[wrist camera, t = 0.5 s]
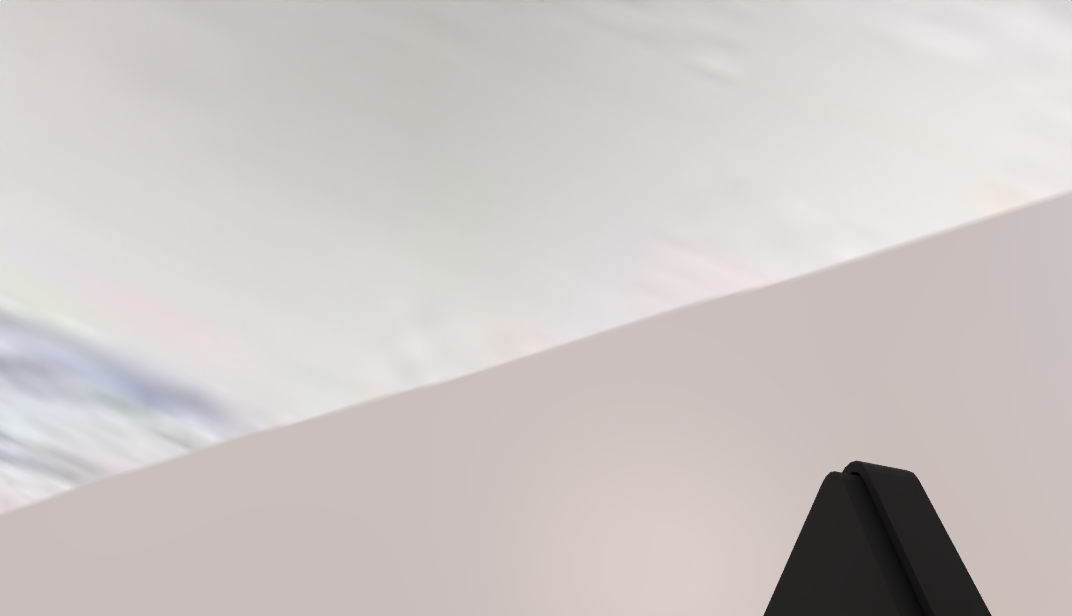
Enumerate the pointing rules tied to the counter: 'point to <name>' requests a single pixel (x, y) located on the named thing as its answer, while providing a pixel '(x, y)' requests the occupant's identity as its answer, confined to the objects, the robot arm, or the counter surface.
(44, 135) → the counter surface
